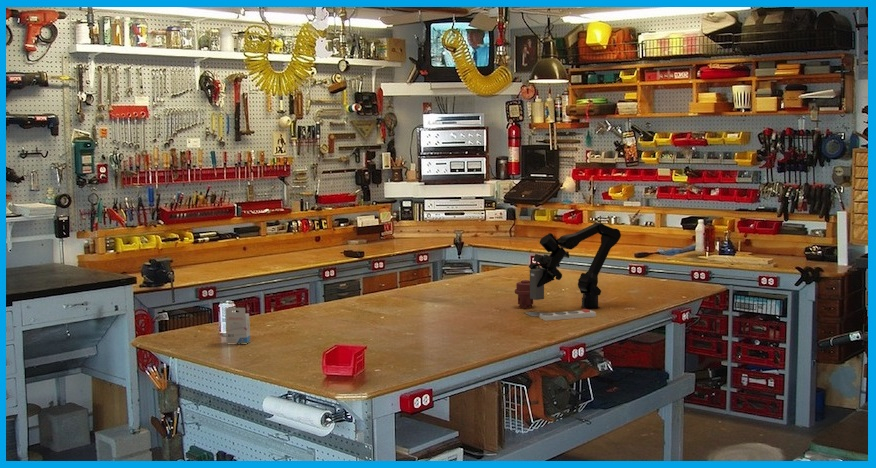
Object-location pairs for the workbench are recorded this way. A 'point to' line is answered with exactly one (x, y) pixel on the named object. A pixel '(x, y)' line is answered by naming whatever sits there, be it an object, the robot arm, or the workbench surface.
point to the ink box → (237, 326)
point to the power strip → (568, 315)
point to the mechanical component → (524, 294)
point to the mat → (534, 314)
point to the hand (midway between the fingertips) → (534, 286)
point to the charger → (535, 277)
